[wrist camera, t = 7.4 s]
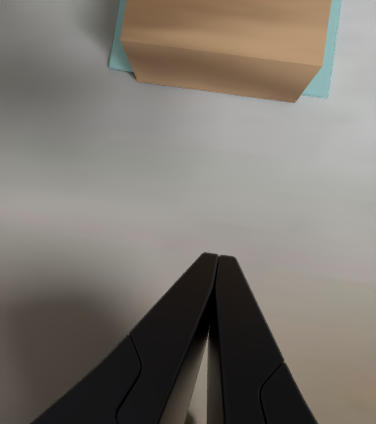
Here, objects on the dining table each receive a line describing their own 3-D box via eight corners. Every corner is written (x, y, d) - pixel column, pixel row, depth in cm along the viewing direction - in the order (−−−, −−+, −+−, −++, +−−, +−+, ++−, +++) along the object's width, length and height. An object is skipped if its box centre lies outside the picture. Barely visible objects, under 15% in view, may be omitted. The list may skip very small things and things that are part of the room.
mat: (326, 98, 22) (328, 96, 22) (110, 69, 23) (108, 66, 23) (343, -24, 23) (345, -27, 22) (129, -50, 23) (128, -53, 23)
